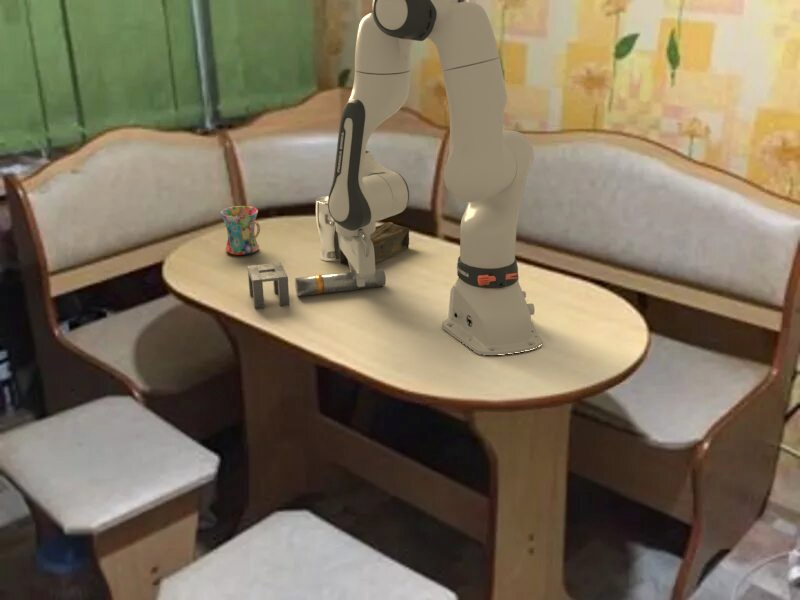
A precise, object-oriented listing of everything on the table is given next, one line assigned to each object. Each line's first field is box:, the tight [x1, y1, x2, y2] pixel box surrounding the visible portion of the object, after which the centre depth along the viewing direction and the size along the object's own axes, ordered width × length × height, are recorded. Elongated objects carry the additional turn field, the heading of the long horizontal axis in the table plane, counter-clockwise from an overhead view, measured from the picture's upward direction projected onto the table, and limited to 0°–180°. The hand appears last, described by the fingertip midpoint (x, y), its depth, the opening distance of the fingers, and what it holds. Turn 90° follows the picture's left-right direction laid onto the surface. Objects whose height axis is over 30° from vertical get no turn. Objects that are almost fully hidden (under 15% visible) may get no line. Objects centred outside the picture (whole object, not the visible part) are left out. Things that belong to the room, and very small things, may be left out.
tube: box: [294, 267, 387, 297], centre depth 200 cm, size 20×4×4 cm, turn 106°
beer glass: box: [315, 195, 340, 262], centre depth 218 cm, size 7×7×15 cm
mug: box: [219, 205, 261, 256], centre depth 222 cm, size 12×9×11 cm
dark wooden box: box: [339, 222, 410, 266], centre depth 220 cm, size 8×19×7 cm, turn 143°
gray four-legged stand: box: [247, 262, 290, 310], centre depth 195 cm, size 9×8×7 cm
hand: (357, 281), depth 201 cm, fingers closed on tube, 4 cm apart
